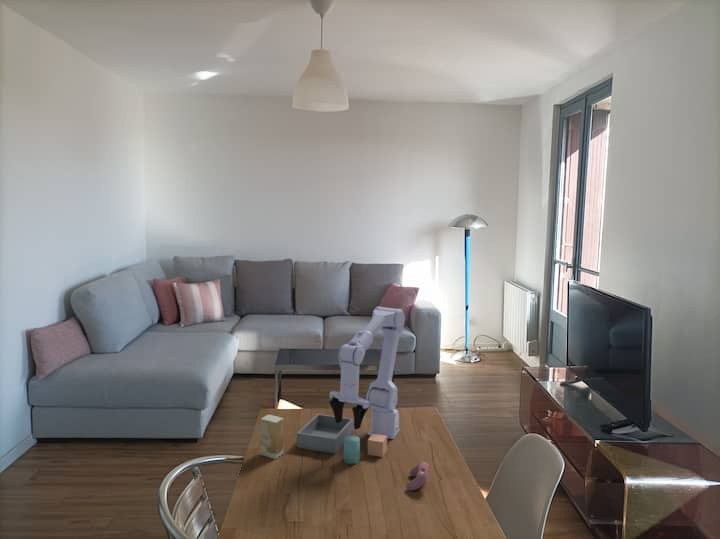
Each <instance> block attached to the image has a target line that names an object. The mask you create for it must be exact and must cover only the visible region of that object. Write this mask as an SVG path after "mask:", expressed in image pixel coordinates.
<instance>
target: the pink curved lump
mask: <svg viewBox="0 0 720 539" xmlns="http://www.w3.org/2000/svg"><path fill="white" fill-rule="evenodd" d="M429 468H430V464H429V463H428V462H426V461H425V462H424V461H421V462H420V463H419V464H417V465H416V466H414V467H412V468H411V469H410V470H409V475H410V477H415V478H414V479H412V480H410V481H409V482H408V483H407V484H406V486H405V487H406V490H407V491H409V492H410V491H412V492H413V491H415V490H418V489H419V488H421V487H423V486H424V485H425V484H427V483H428V480H429V479H428V472H429Z"/></svg>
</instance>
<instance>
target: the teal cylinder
mask: <svg viewBox="0 0 720 539" xmlns="http://www.w3.org/2000/svg"><path fill="white" fill-rule="evenodd" d="M360 445H361V439H360V437H359V436H357V435H351V436H346V437H345V438H344V445H343V462H344V463H345V464H348V465H356V464H358V463H360V461H361V460H360V459H361V458H360V457H361V455H360V454H361V451H360V449H361V446H360Z"/></svg>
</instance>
